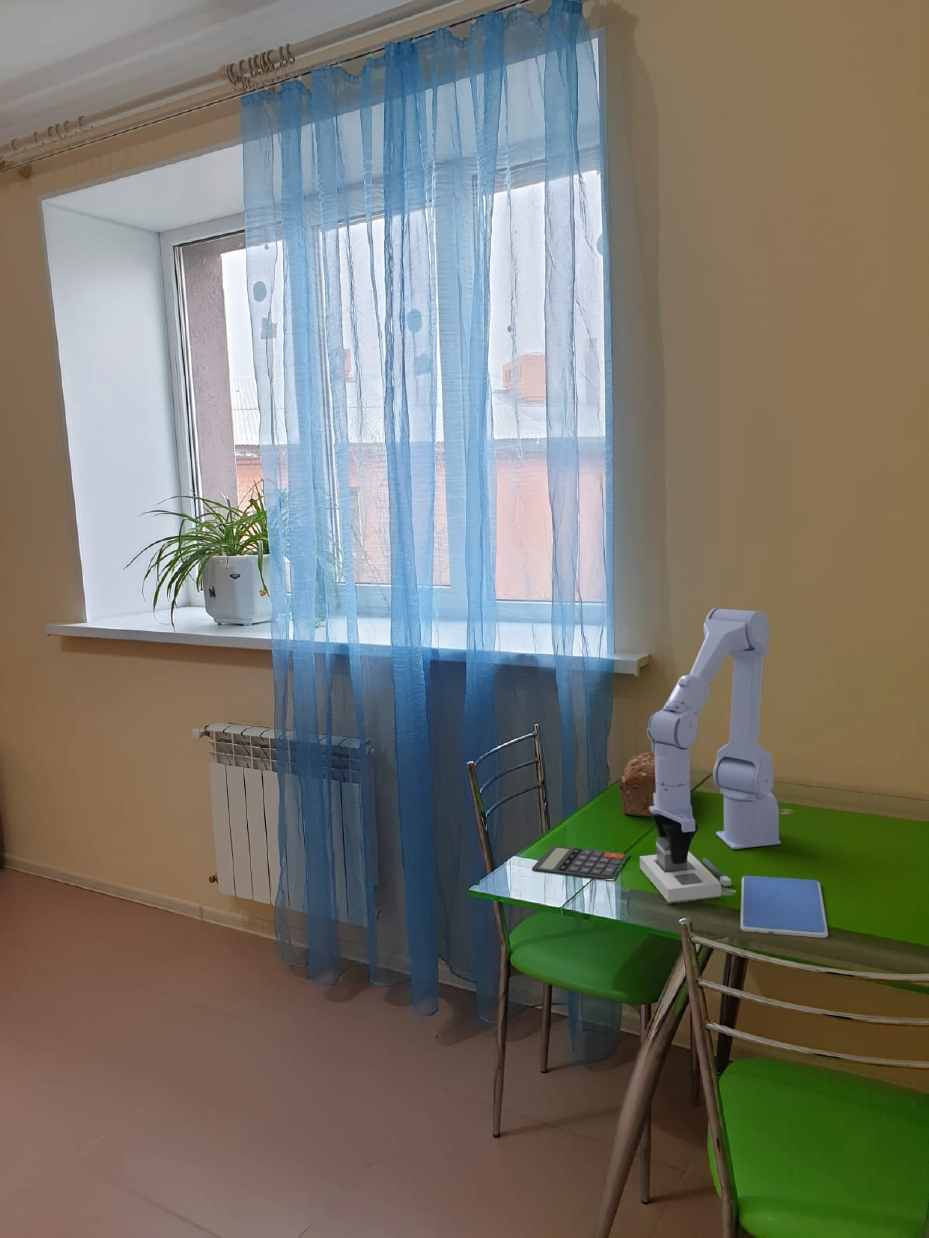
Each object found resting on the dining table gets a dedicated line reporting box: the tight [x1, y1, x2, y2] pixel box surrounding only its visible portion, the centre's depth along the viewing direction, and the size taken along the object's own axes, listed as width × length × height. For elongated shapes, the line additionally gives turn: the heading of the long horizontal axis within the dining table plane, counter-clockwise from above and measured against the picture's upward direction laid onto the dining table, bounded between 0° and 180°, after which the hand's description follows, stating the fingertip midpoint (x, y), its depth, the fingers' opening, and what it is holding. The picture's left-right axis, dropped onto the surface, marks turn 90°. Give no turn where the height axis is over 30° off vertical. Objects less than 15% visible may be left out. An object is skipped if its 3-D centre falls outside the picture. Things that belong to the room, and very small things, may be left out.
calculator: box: [531, 844, 631, 880], centre depth 173 cm, size 12×1×15 cm
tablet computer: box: [739, 875, 829, 939], centre depth 152 cm, size 19×13×1 cm, turn 163°
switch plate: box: [639, 851, 722, 903], centre depth 162 cm, size 9×14×3 cm, turn 8°
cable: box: [702, 857, 732, 887], centre depth 166 cm, size 1×10×1 cm, turn 9°
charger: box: [655, 836, 688, 873], centre depth 164 cm, size 4×4×5 cm
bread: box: [619, 750, 656, 818], centre depth 202 cm, size 19×11×10 cm, turn 160°
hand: (674, 857), depth 164 cm, fingers closed on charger, 4 cm apart
